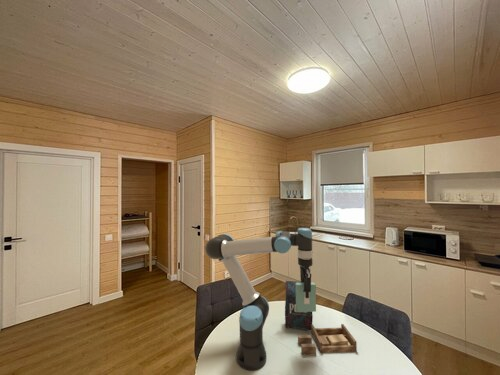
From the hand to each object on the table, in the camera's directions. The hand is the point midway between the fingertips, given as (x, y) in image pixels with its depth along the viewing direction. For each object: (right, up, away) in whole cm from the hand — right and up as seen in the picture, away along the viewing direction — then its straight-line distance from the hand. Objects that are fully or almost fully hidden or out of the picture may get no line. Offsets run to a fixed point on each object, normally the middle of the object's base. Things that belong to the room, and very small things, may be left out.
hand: (305, 301), depth 115 cm
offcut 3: (+18, -24, +1) cm, 30 cm away
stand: (0, -25, -1) cm, 25 cm away
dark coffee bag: (0, -26, +18) cm, 32 cm away
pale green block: (0, -5, 0) cm, 5 cm away
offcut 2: (+17, -22, +1) cm, 28 cm away
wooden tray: (+16, -25, +3) cm, 30 cm away
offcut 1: (+10, -24, +1) cm, 26 cm away
